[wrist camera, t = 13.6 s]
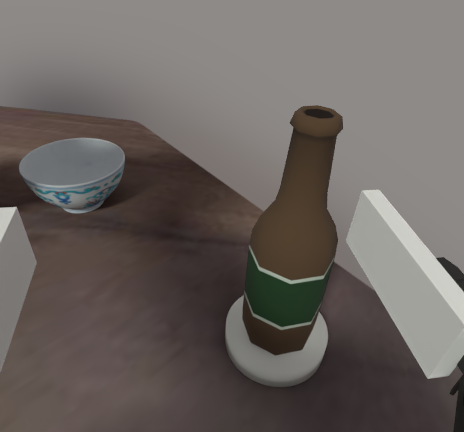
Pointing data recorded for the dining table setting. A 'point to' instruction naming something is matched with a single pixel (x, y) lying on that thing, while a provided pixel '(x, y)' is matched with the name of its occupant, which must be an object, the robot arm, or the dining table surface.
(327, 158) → the beer bottle
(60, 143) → the chinaware
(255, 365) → the plinth
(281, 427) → the dining table surface
